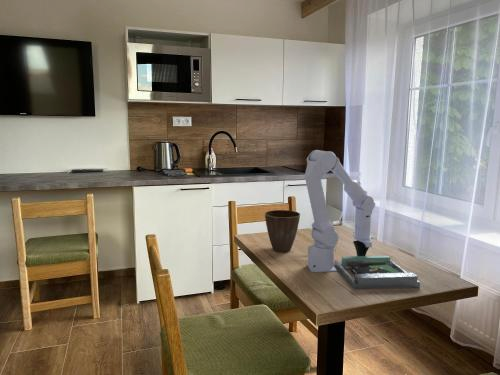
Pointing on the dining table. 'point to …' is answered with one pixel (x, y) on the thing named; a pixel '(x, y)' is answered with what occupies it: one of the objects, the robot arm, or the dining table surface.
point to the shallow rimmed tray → (381, 278)
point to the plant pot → (282, 228)
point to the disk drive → (373, 269)
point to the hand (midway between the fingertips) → (360, 259)
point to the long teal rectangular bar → (364, 261)
